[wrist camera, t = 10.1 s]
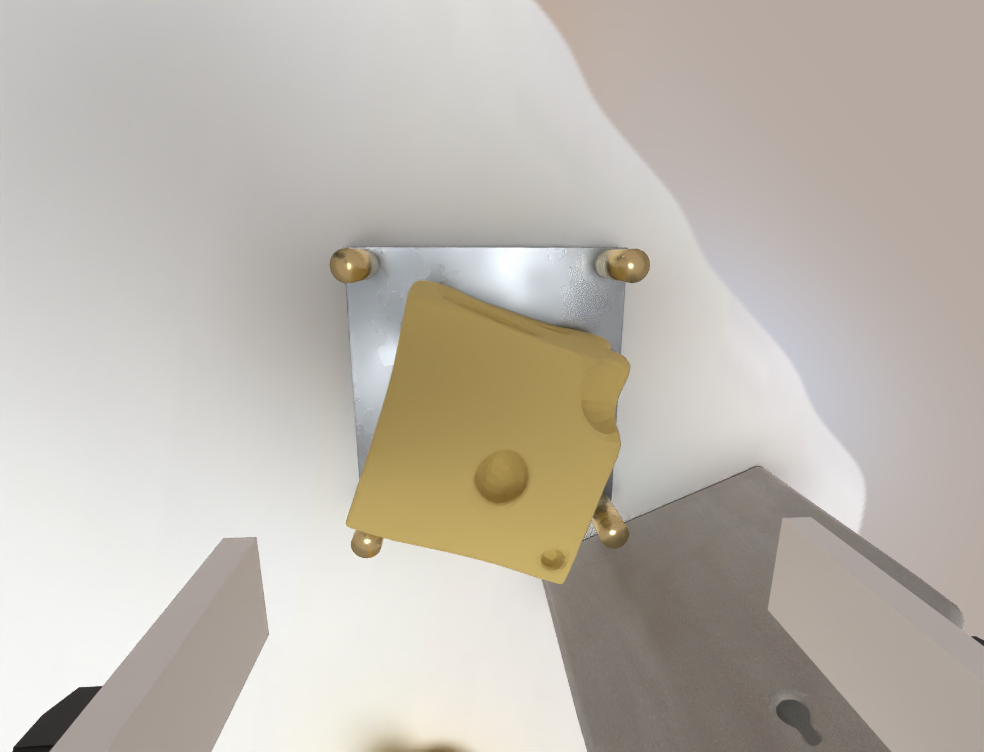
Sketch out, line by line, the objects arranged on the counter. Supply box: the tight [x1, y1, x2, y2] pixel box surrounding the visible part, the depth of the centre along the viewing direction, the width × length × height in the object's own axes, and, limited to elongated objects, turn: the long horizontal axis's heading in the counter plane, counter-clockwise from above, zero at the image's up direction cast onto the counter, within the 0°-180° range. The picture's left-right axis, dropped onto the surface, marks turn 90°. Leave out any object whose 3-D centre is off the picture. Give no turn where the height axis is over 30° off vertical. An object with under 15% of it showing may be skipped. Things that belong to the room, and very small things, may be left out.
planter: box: [542, 466, 964, 752], centre depth 25 cm, size 16×8×19 cm, turn 114°
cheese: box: [346, 280, 630, 584], centre depth 24 cm, size 10×11×10 cm
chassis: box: [330, 247, 650, 558], centre depth 28 cm, size 16×16×5 cm
